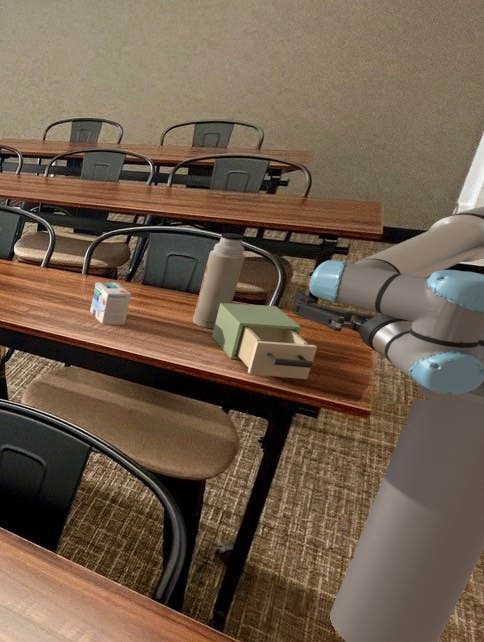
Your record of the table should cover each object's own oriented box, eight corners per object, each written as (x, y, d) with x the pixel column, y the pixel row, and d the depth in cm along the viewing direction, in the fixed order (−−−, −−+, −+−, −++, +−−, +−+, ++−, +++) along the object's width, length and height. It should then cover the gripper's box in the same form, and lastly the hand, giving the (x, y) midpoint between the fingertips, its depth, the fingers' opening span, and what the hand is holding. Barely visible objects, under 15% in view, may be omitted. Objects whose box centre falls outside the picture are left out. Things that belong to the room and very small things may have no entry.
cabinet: (290, 364, 149) (301, 327, 146) (230, 359, 154) (239, 322, 150) (266, 340, 162) (276, 306, 158) (212, 336, 167) (220, 302, 163)
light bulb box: (89, 312, 188) (94, 281, 184) (111, 312, 187) (118, 281, 183) (101, 325, 178) (107, 293, 174) (125, 326, 177) (132, 293, 173)
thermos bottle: (187, 322, 176) (209, 234, 166) (199, 316, 180) (222, 229, 169) (218, 331, 169) (243, 240, 159) (230, 324, 173) (255, 235, 163)
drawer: (317, 389, 136) (328, 356, 133) (257, 383, 140) (266, 351, 137) (282, 355, 152) (291, 325, 149) (229, 351, 156) (237, 321, 153)
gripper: (306, 350, 112) (260, 310, 130) (484, 364, 103) (408, 318, 121) (316, 315, 109) (269, 278, 127) (500, 326, 100) (420, 285, 118)
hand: (337, 298), depth 124 cm, fingers open, 13 cm apart
